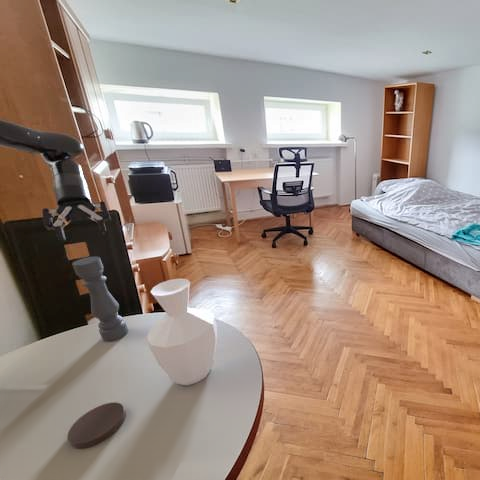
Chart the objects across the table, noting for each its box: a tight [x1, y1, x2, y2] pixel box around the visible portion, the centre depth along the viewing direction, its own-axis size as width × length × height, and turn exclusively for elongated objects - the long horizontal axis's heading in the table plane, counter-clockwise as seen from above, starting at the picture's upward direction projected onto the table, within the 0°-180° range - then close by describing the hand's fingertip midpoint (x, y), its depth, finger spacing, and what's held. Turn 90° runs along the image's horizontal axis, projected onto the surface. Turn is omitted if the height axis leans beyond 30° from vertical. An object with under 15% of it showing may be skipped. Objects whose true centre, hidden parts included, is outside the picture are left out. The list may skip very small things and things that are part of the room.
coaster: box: [67, 401, 127, 450], centre depth 60 cm, size 9×9×2 cm
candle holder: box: [71, 256, 129, 343], centre depth 82 cm, size 6×6×25 cm
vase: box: [145, 278, 218, 386], centre depth 69 cm, size 14×14×25 cm
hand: (83, 236), depth 84 cm, fingers open, 8 cm apart
